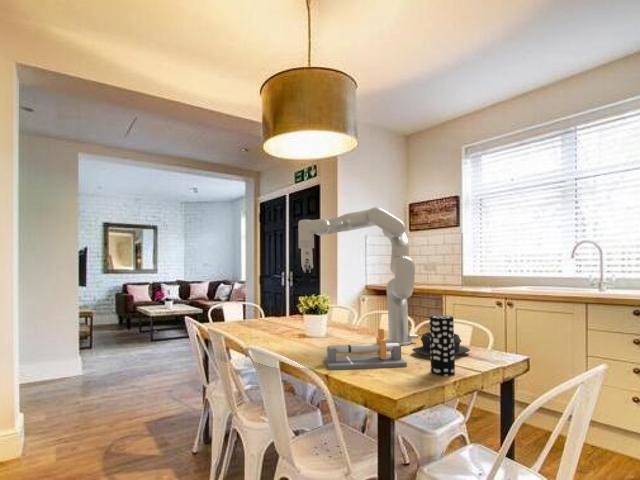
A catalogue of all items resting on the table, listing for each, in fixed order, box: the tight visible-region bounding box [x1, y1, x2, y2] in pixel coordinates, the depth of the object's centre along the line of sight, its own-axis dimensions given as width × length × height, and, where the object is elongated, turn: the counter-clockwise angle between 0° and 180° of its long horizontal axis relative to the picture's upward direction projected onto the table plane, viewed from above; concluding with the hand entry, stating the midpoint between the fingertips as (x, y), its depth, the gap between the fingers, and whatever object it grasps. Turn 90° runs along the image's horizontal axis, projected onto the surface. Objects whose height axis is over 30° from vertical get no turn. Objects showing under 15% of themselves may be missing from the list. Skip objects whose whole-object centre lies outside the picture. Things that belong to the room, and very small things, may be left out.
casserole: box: [412, 331, 471, 356], centre depth 170 cm, size 25×19×8 cm
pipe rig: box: [324, 343, 408, 371], centre depth 156 cm, size 30×14×8 cm, turn 96°
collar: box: [376, 327, 387, 359], centre depth 157 cm, size 2×7×11 cm, turn 6°
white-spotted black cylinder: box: [429, 314, 456, 377], centre depth 142 cm, size 8×8×20 cm
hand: (306, 280), depth 190 cm, fingers open, 9 cm apart
